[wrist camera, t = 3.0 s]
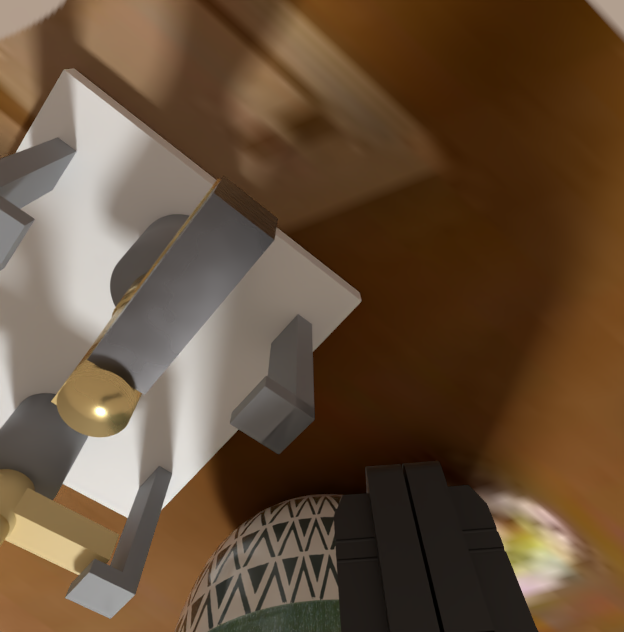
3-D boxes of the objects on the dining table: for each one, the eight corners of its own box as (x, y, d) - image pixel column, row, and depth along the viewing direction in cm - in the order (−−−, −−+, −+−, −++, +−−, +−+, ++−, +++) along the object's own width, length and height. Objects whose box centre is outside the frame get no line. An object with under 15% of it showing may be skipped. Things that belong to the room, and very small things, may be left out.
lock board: (149, 513, 38) (69, 756, 25) (-107, 375, 33) (-376, 593, 20) (359, 292, 31) (400, 473, 18) (74, 68, 25) (-168, 92, 12)
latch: (110, 400, 26) (37, 536, 19) (65, 373, 25) (-30, 504, 18) (287, 181, 21) (279, 250, 14) (238, 141, 21) (203, 192, 13)
